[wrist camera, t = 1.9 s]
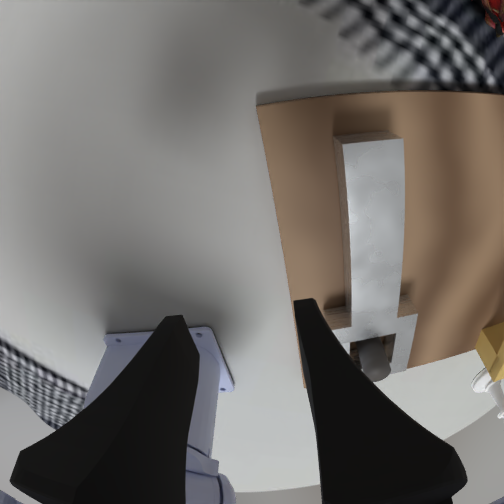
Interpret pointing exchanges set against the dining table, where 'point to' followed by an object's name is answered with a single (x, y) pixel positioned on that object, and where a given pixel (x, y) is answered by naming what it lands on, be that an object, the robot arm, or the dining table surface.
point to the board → (416, 208)
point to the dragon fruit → (494, 15)
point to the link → (373, 246)
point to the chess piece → (489, 389)
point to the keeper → (492, 350)
